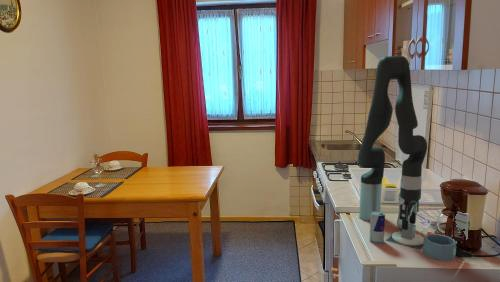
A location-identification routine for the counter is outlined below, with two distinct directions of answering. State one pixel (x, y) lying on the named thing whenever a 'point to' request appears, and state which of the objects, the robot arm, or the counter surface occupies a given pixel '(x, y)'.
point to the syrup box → (463, 222)
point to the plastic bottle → (399, 221)
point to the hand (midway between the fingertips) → (408, 226)
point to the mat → (402, 244)
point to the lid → (408, 236)
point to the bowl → (439, 247)
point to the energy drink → (377, 227)
